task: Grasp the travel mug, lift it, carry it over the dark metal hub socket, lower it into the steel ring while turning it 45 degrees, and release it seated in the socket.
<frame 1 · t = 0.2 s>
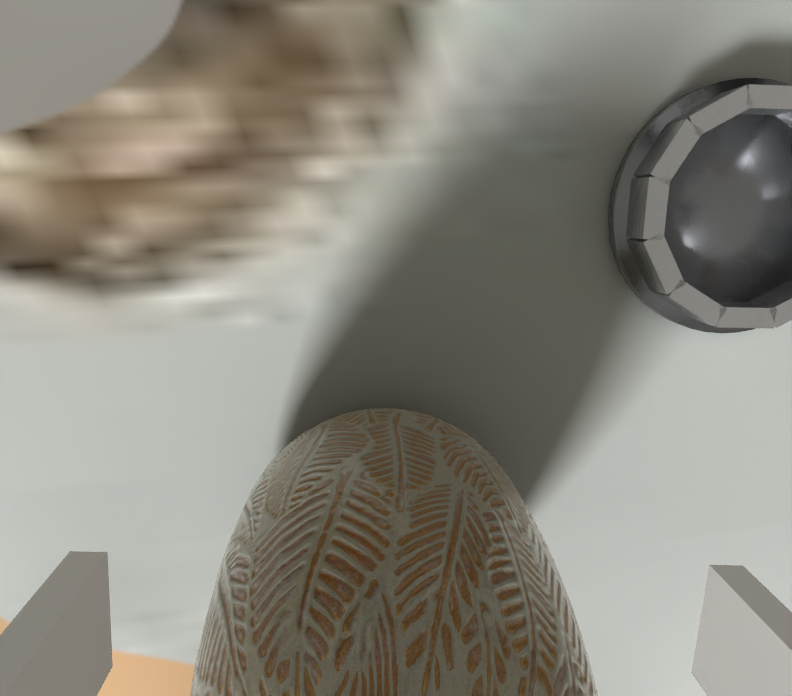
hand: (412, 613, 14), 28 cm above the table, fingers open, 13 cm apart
hub: (728, 210, 41), on the table
vase: (381, 509, 44), on the table
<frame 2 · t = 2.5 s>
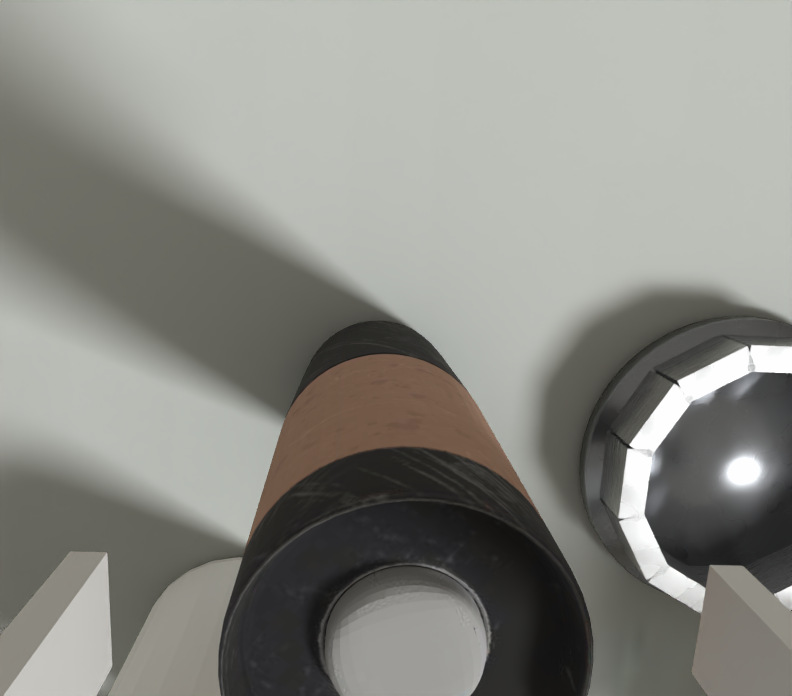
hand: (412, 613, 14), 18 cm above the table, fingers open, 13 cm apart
mug: (232, 657, 35), on the table
hub: (722, 459, 34), on the table
travel mug: (376, 390, 33), on the table
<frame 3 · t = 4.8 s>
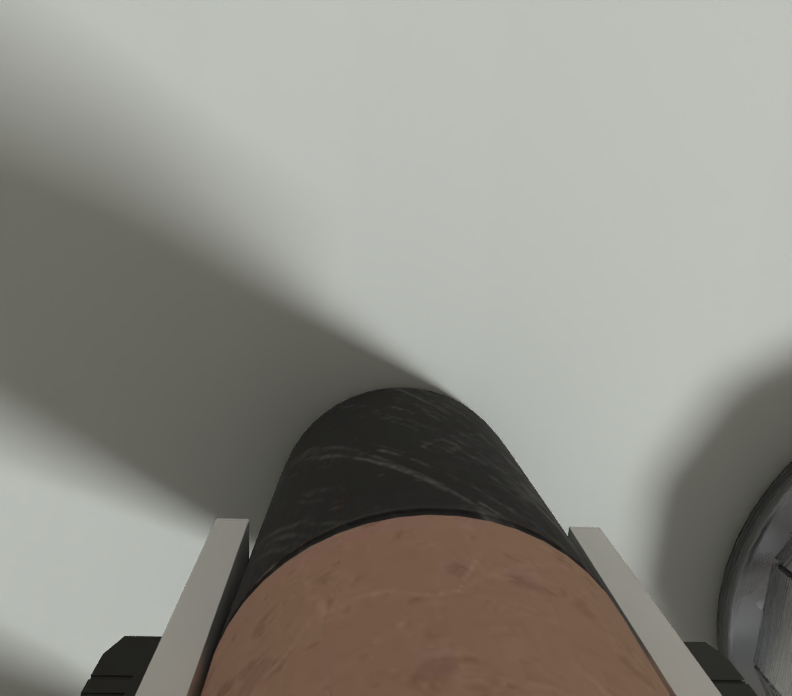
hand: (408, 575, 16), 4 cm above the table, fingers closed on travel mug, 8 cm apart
travel mug: (398, 496, 20), on the table, touching gripper
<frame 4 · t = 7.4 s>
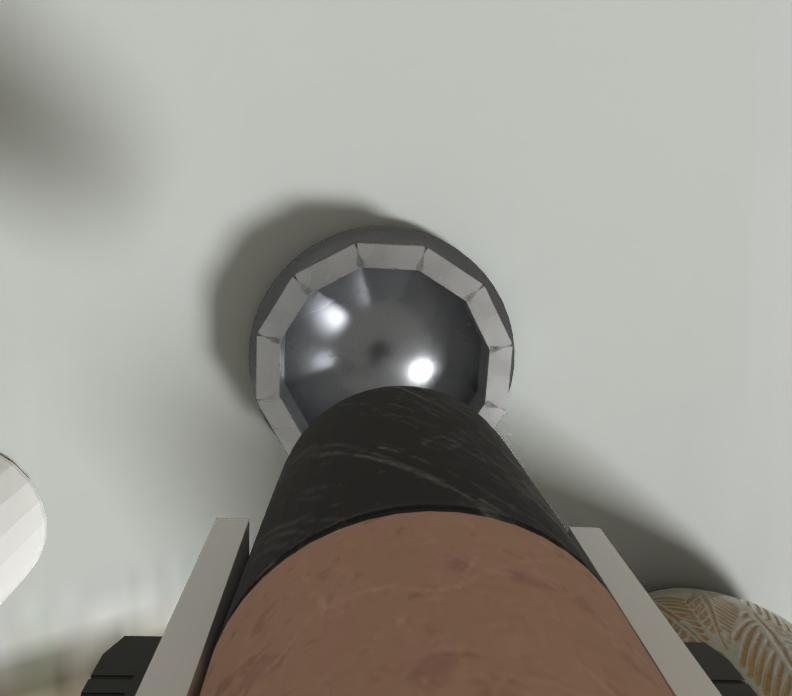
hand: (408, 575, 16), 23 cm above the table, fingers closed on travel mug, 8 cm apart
hub: (382, 357, 38), on the table
vase: (664, 674, 44), on the table
travel mug: (398, 494, 20), point 19 cm above the table, touching gripper
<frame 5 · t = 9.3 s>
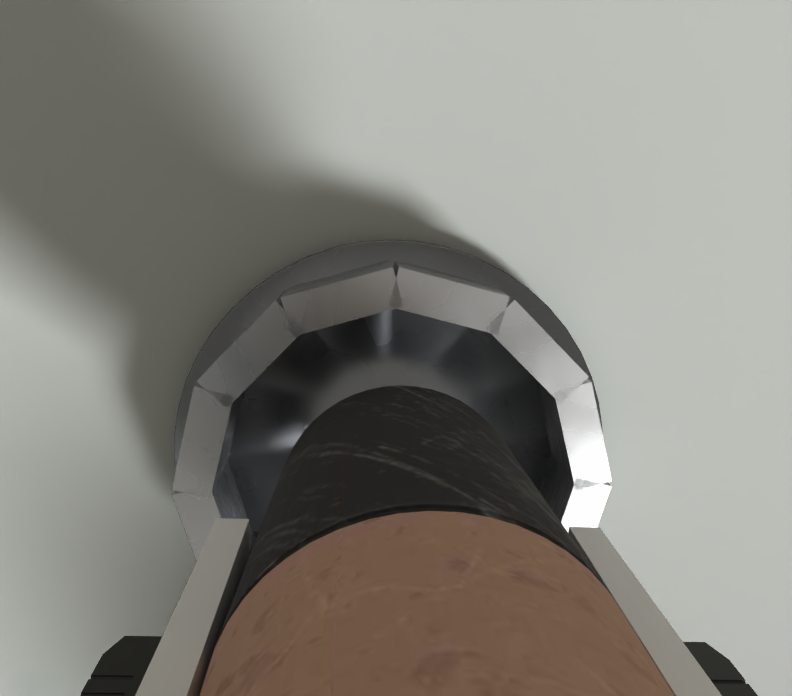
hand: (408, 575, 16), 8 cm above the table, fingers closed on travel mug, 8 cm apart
hub: (390, 447, 24), on the table
travel mug: (398, 493, 20), point 4 cm above the table, touching gripper
when the fingers open (6 cm above the table, at t = 10.5 s): travel mug stays where it is, resting on hub.
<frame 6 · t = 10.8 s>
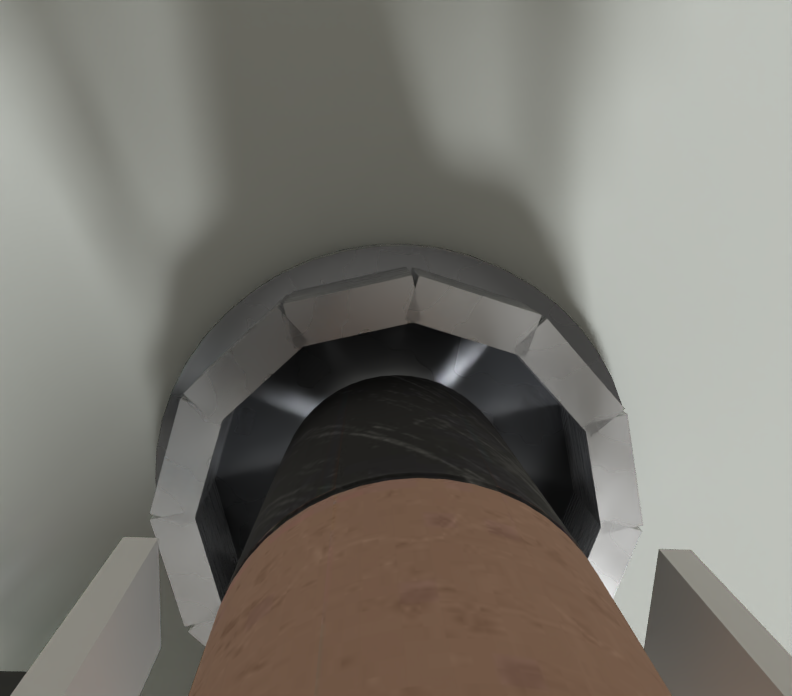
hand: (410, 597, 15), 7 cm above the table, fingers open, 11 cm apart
hub: (395, 472, 22), on the table
travel mug: (395, 479, 21), point 1 cm above the table, touching hub
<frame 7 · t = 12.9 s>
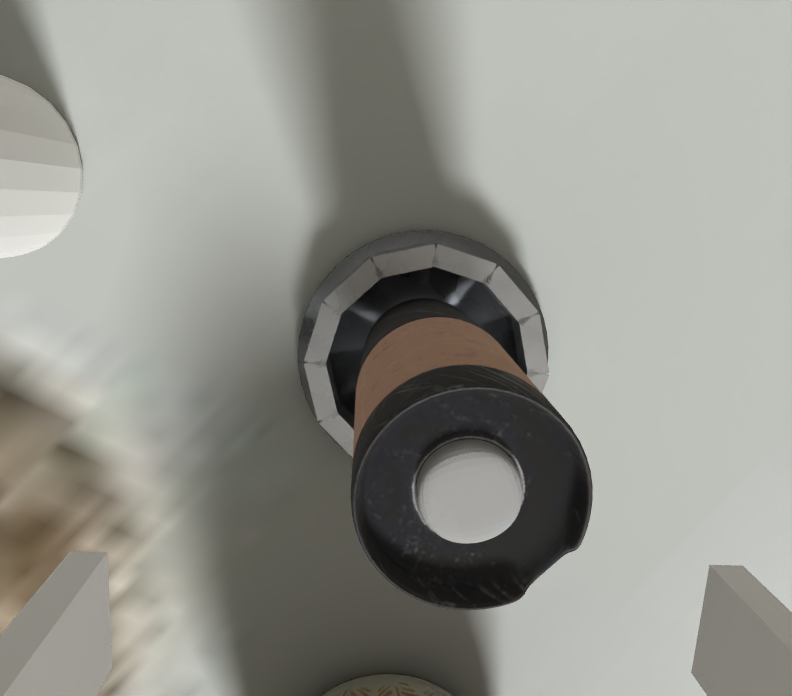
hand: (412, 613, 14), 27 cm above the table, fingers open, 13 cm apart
hub: (422, 354, 41), on the table
travel mug: (422, 355, 40), point 1 cm above the table, touching hub
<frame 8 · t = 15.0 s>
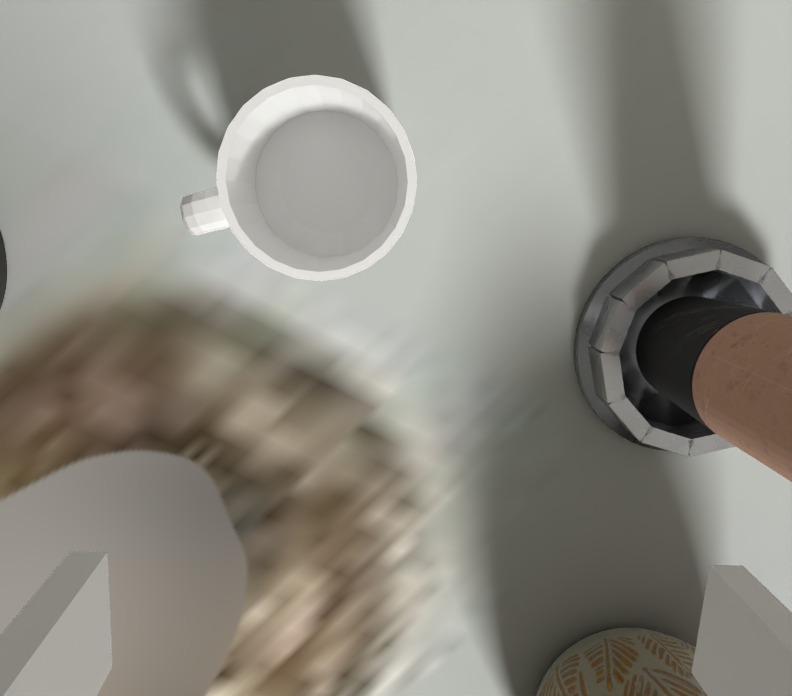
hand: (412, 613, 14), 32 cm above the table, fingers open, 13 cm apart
mug: (309, 190, 43), on the table
hub: (679, 345, 47), on the table
travel mug: (684, 346, 46), point 1 cm above the table, touching hub
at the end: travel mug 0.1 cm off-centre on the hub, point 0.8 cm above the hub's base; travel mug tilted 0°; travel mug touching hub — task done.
